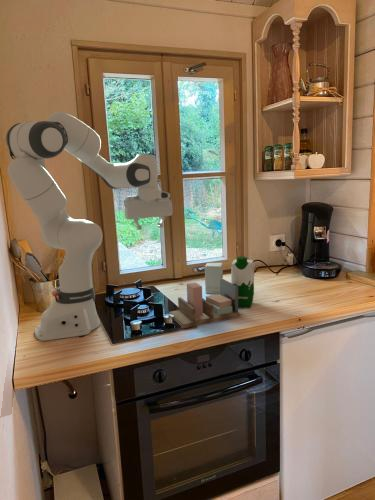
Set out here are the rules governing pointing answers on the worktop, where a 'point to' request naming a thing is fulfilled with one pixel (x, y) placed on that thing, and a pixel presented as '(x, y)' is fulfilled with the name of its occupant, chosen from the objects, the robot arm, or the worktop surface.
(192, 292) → the rose book
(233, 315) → the walnut book rack
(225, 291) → the dark metal bookend
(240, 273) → the milk carton
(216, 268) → the supplement box
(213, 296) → the toppled books
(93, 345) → the worktop surface
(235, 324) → the worktop surface
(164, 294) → the worktop surface
